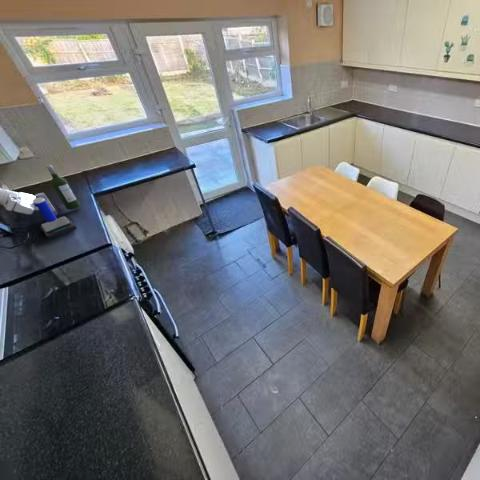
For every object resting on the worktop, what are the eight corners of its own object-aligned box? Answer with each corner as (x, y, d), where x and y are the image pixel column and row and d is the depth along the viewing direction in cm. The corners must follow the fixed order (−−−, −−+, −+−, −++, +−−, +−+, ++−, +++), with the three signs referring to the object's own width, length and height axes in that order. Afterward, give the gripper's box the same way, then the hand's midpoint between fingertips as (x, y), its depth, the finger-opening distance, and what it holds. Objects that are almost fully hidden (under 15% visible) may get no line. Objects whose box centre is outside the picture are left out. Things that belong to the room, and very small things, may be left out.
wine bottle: (73, 204, 193) (49, 163, 176) (83, 204, 192) (59, 163, 175) (63, 209, 187) (37, 167, 170) (73, 209, 186) (48, 167, 169)
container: (47, 215, 182) (33, 195, 173) (54, 212, 185) (41, 192, 176) (51, 216, 180) (37, 196, 172) (59, 213, 184) (46, 193, 175)
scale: (49, 239, 161) (46, 235, 159) (42, 229, 169) (39, 225, 168) (76, 228, 170) (74, 224, 168) (69, 219, 178) (66, 216, 176)
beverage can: (56, 216, 168) (42, 196, 158) (58, 220, 166) (44, 200, 156) (45, 219, 165) (31, 199, 156) (47, 223, 163) (32, 203, 153)
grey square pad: (47, 232, 162) (46, 231, 161) (41, 225, 168) (41, 224, 167) (70, 223, 169) (69, 222, 168) (65, 217, 175) (64, 216, 174)
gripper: (10, 196, 157) (43, 205, 168) (6, 211, 144) (41, 220, 155) (15, 187, 156) (47, 196, 167) (11, 201, 144) (46, 210, 154)
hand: (44, 208), depth 161 cm, fingers closed on beverage can, 3 cm apart
